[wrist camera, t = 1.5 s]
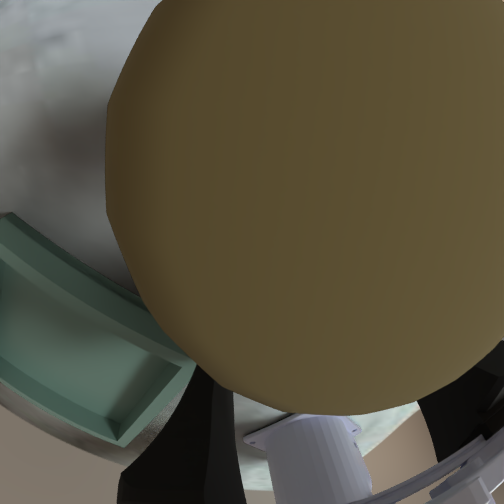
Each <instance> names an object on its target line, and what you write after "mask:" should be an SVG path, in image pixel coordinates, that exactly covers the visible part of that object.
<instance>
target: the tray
mask: <svg viewBox="0 0 504 504" xmlns="http://www.w3.org/2000/svg"><path fill="white" fill-rule="evenodd" d="M195 367H196V363H195V362H194V361H193V360H192V359H191V358H190V357H189V356H188V355H187V354H186V353H185V352H184V351H183V350H182V349H181V348H180V347H179V346H178V345H177V344H176V343H175V342H174V341H173V340H172V339H171V338H170V337H169V336H168V335H167V334H166V333H165V332H164V331H163V330H162V329H161V327H160V326H159V324H158V323H157V322H156V320H155V319H154V317H153V316H152V314H151V313H150V311H149V310H148V308H147V307H146V305H145V304H144V302H143V300H142V298H140V297H138V296H137V295H135V294H133V293H131V292H130V291H128V290H126V289H125V288H123V287H121V286H119V285H118V284H116V283H114V282H113V281H111V280H109V279H108V278H106V277H104V276H103V275H101V274H100V273H98V272H96V271H95V270H93V269H92V268H90V267H88V266H87V265H85V264H84V263H82V262H81V261H79V260H78V259H76V258H75V257H73V256H72V255H70V254H69V253H67V252H66V251H64V250H63V249H61V248H60V247H58V246H57V245H55V244H54V243H53V242H51V241H50V240H48V239H47V238H45V237H44V236H43V235H41V234H40V233H39V232H37V231H36V230H34V229H33V228H32V227H30V226H29V225H28V224H26V223H25V222H24V221H22V220H21V219H20V218H19V217H17V216H16V215H15V214H13V213H12V212H11V213H10V214H8V215H6V216H4V217H3V218H1V219H0V382H1V383H2V384H4V385H5V386H7V387H8V388H9V389H11V390H12V391H14V392H15V393H17V394H18V395H20V396H21V397H23V398H24V399H26V400H27V401H29V402H31V403H32V404H34V405H35V406H37V407H39V408H40V409H42V410H44V411H46V412H47V413H49V414H51V415H53V416H55V417H56V418H58V419H60V420H62V421H64V422H66V423H68V424H70V425H72V426H74V427H76V428H78V429H80V430H82V431H84V432H87V433H89V434H91V435H93V436H95V437H98V438H100V439H103V440H105V441H107V442H110V443H112V444H115V445H118V446H120V447H123V448H125V447H126V446H127V445H128V444H129V443H130V442H131V441H132V440H133V439H134V438H135V437H136V436H137V435H138V434H139V433H140V432H141V431H142V430H143V429H144V428H145V427H146V426H147V425H148V424H149V423H150V422H151V421H152V420H153V419H154V418H155V417H156V416H157V415H158V414H159V412H160V411H161V410H162V409H163V408H164V407H165V406H166V405H167V404H168V403H169V402H170V401H171V400H172V399H173V398H174V397H175V396H176V395H177V394H178V393H179V392H180V391H181V390H182V389H183V387H184V386H185V385H186V384H187V383H188V382H189V381H190V379H191V377H192V374H193V372H194V370H195Z"/></svg>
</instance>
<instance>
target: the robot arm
mask: <svg viewBox="0 0 504 504" xmlns="http://www.w3.org/2000/svg"><path fill="white" fill-rule="evenodd" d="M417 402H418V404H419V406H420V409H421V411H422V414H423V416H424V418H425V421H426V424H427V426H428V429H429V432H430V435H431V438H432V442H433V445H434V449H435V453H436V457H437V461H438V464H436V465H434V466H433V467H431V468H429V469H428V470H426V471H424V472H422V473H420V474H418V475H416V476H414V477H412V478H410V479H409V480H407V481H404V482H402V483H400V484H398V485H396V486H394V487H391V488H390V489H387V490H385V491H383V492H380V493H378V494H375V495H372V493H371V489H372V480H371V477H370V475H369V472H368V470H367V467H366V465H365V462H364V460H363V457H362V455H361V452H360V450H359V448H358V445H357V443H356V440H355V438H354V436H356V435H358V434H360V433H361V432H362V429H361V428H360V427H359V426H358V425H357V424H355V423H354V422H353V421H352V420H351V419H349V418H348V417H347V416H328V415H311V414H299V413H296V414H294V415H292V416H290V417H287V418H285V419H283V420H281V421H279V422H277V423H275V424H272V425H270V426H268V427H266V428H263V429H261V430H259V431H256V432H254V433H252V434H249V435H247V436H245V437H243V442H244V443H246V444H248V445H251V446H253V447H255V448H257V449H260V450H262V451H265V452H266V455H267V460H268V466H269V471H270V476H271V481H272V486H273V490H274V495H275V500H276V504H395V503H396V502H398V501H400V500H402V499H404V498H406V497H408V496H410V495H412V494H414V493H416V492H418V491H420V490H421V489H423V488H425V487H427V486H429V485H431V484H432V483H434V482H436V481H437V480H439V479H441V478H442V477H444V476H446V475H447V474H449V473H450V472H452V471H453V470H455V469H457V468H458V467H460V466H461V467H460V470H458V471H457V472H455V473H454V474H453V475H451V476H450V477H448V478H447V479H446V480H445V481H444V482H442V483H441V484H440V485H439V486H437V487H436V488H435V489H433V490H431V491H430V493H429V494H430V496H431V498H432V500H430V501H428V502H426V503H425V504H496V503H495V501H494V499H493V497H492V495H491V492H493V491H494V490H495V489H496V488H497V487H498V486H499V485H500V484H501V483H502V482H503V481H504V341H503V340H501V341H500V342H499V343H498V344H497V345H496V346H495V348H494V349H493V350H491V351H490V352H489V353H488V354H487V355H486V356H485V357H484V358H482V359H481V360H480V361H479V362H478V363H477V364H475V365H474V366H473V367H472V368H470V369H469V370H468V371H467V372H465V373H464V374H463V375H462V376H460V377H459V378H458V379H456V380H455V381H453V382H451V383H449V384H448V385H446V386H444V387H442V388H440V389H438V390H437V391H435V392H433V393H431V394H429V395H427V396H425V397H423V398H421V399H419V400H417ZM117 504H247V503H246V498H245V494H244V489H243V484H242V479H241V474H240V469H239V463H238V457H237V451H236V444H235V430H234V403H233V391H231V390H228V389H226V388H224V387H222V386H221V385H220V384H218V383H217V382H216V381H215V380H214V379H213V378H212V377H211V376H209V375H208V374H207V373H206V372H205V371H204V370H203V369H202V368H201V367H200V366H199V365H197V364H196V367H195V370H194V372H193V374H192V377H191V379H190V381H189V384H188V386H187V388H186V390H185V392H184V394H183V396H182V398H181V400H180V402H179V404H178V405H177V407H176V409H175V411H174V412H173V414H172V416H171V417H170V419H169V420H168V422H167V423H166V425H165V426H164V427H163V429H162V430H161V432H160V433H159V434H158V436H157V437H156V438H155V439H154V440H153V442H152V443H151V444H150V445H149V446H148V447H147V448H146V450H145V451H144V452H143V453H142V454H141V455H140V456H139V457H138V458H137V459H136V460H135V461H134V462H133V463H132V464H131V465H130V466H128V467H127V468H126V469H125V470H124V471H123V472H122V473H121V476H120V480H119V484H118V493H117Z"/></svg>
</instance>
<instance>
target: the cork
mask: <svg viewBox="0 0 504 504" xmlns="http://www.w3.org/2000/svg"><path fill="white" fill-rule="evenodd" d="M105 190H106V212H107V216H108V219H109V221H110V224H111V227H112V230H113V232H114V235H115V237H116V240H117V243H118V245H119V248H120V250H121V253H122V255H123V257H124V260H125V262H126V265H127V267H128V269H129V272H130V274H131V276H132V279H133V281H134V283H135V285H136V287H137V290H138V292H139V294H140V296H141V298H142V300H143V302H144V304H145V305H146V307H147V308H148V310H149V311H150V313H151V314H152V316H153V317H154V319H155V320H156V322H157V323H158V324H159V326H160V327H161V329H162V330H163V331H164V332H165V333H166V334H167V335H168V336H169V337H170V338H171V339H172V340H173V341H174V342H175V343H176V344H177V345H178V346H179V347H180V348H181V349H182V350H183V351H184V352H185V353H186V354H187V355H188V356H189V357H190V358H191V359H192V360H193V361H194V362H195V363H196V364H197V365H199V366H200V367H201V368H202V369H203V370H204V371H205V372H206V373H207V374H208V375H209V376H211V377H212V378H213V379H214V380H215V381H216V382H217V383H218V384H220V385H221V386H222V387H224V388H226V389H228V390H231V391H233V392H235V393H237V394H240V395H242V396H244V397H247V398H249V399H251V400H254V401H256V402H259V403H261V404H264V405H266V406H269V407H272V408H274V409H277V410H280V411H282V412H288V413H299V414H311V415H328V416H350V415H362V414H368V413H373V412H377V411H382V410H386V409H390V408H394V407H398V406H401V405H405V404H409V403H412V402H415V401H417V400H419V399H421V398H423V397H425V396H427V395H429V394H431V393H433V392H435V391H437V390H438V389H440V388H442V387H444V386H446V385H448V384H449V383H451V382H453V381H455V380H456V379H458V378H459V377H460V376H462V375H463V374H464V373H465V372H467V371H468V370H469V369H470V368H472V367H473V366H474V365H475V364H477V363H478V362H479V361H480V360H481V359H482V358H484V357H485V356H486V355H487V354H488V353H489V352H490V351H491V350H493V349H494V348H495V346H496V345H497V344H498V343H499V342H500V341H501V340H502V338H503V337H504V2H503V1H502V0H162V1H161V2H160V3H159V4H158V5H157V6H156V7H155V8H154V10H153V12H152V13H151V15H150V17H149V18H148V20H147V22H146V24H145V25H144V27H143V29H142V31H141V33H140V34H139V36H138V38H137V40H136V42H135V44H134V46H133V48H132V50H131V52H130V54H129V56H128V58H127V60H126V62H125V64H124V67H123V69H122V71H121V73H120V76H119V78H118V80H117V83H116V85H115V87H114V90H113V92H112V95H111V97H110V100H109V102H108V108H107V122H106V143H105Z"/></svg>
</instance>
